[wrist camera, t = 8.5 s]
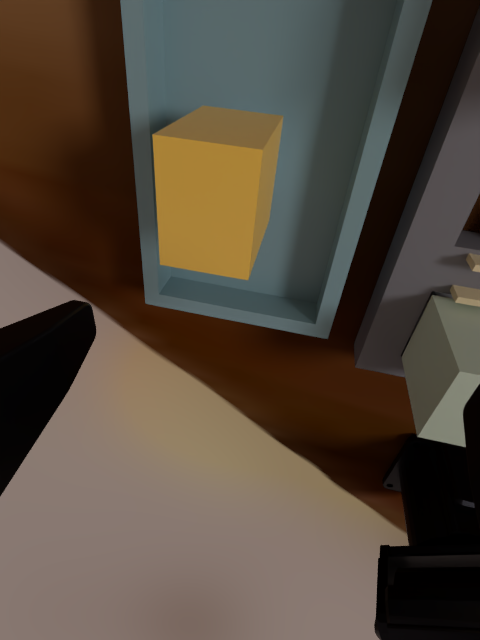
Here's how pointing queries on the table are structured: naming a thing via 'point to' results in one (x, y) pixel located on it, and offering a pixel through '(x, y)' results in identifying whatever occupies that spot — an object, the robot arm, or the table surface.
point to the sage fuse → (443, 367)
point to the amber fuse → (215, 188)
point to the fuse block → (431, 226)
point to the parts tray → (295, 143)
